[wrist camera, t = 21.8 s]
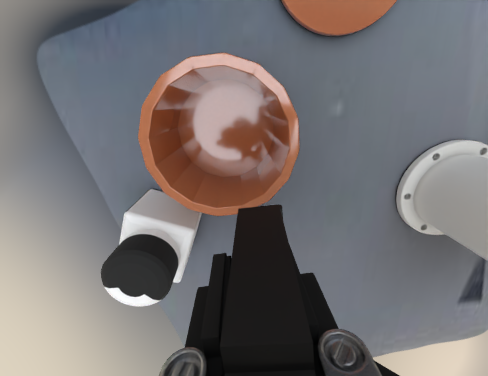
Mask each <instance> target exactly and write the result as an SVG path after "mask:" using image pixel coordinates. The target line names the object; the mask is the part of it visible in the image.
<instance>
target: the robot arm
mask: <svg viewBox="0 0 488 376" xmlns="http://www.w3.org/2000/svg"><path fill="white" fill-rule="evenodd" d="M396 202H397V208H398V212H399V214H400V216H401V217H402V219H403V220H404V221H405V222H406V223H407V224H408V225H409V226H411V227H412V228H414V229H415V230H417V231H419V232H421V233H425V234H429V235H443V234H446V235H447V236H449V237H450V238H452V239H454V240H455V241H457V242H458V243H460V244H462V245H463V246H465V247H466V248H468V249H469V250H471V251H473V252H474V253H476V254H477V255H479V256H481V257H482V258H484V259H485V260H487V261H488V145H486V144H484V143H481V142H476V141H471V140H453V141H448V142H445V143H441V144H439V145H437V146H435V147H433V148H431V149H429V150H427V151H426V152H425V153H423V154H422V155H420V156H419V157H418V158H417V159H416V160H415V161H414V162H413V163H412V164H411V165H410V166H409V168H408V169H407V170H406V172H405V173H404V175H403V177H402V179H401V181H400V184H399V186H398V190H397V196H396ZM289 247H290V245H289ZM290 251H291V255H292V259H293V263H294V267H295V272H296V276H297V280H298V284H299V288H300V292H301V296H302V300H303V304H304V308H305V312H306V316H307V320H308V324H309V328H310V333H311V337H312V341H313V353H314V370H315V375H316V376H399V375H397V374H396V373H394V372H392V371H391V370H389V369H387V368H386V367H384V366H382V365H381V364H379V363H377V362H375V361H374V360H373V358H372V356H371V354H370V352H369V350H368V348H367V347H366V345H365V344H364V343H363V341H362V340H361V339H359V338H358V337H357V336H356V335H354V334H353V333H351V332H349V331H346V330H343V329H338V326H337V324H336V322H335V320H334V317H333V315H332V313H331V311H330V309H329V306H328V304H327V302H326V300H325V298H324V295H323V293H322V291H321V289H320V286H319V284H318V282H317V280H316V278H315V275H314V274H313V273H305V274H300V272H299V269H298V267H297V264H296V261H295V259H294V256H293V253H292V250H291V248H290ZM231 260H232V258H231V256H227V255H226V253H223V254H215V255H214V256H213V262H212V268H211V274H210V281H209V286H205V287H199V288H198V290H197V294H196V298H195V303H194V307H193V312H192V317H191V321H190V326H189V330H188V335H187V340H186V344H185V348H183V349H180V350H178V351H177V352H175V353H173V354H172V355H171V356H170V357H169V358H168V359H167V361H166V362H165V363H164V365H163V367H162V369H161V371H160V374H159V376H225V372H224V366H223V361H222V356H221V351H220V342H221V334H222V327H223V319H224V312H225V304H226V297H227V290H228V282H229V275H230V267H231Z"/></svg>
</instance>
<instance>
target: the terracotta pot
mask: <svg viewBox="0 0 488 376" xmlns="http://www.w3.org/2000/svg"><path fill="white" fill-rule="evenodd" d="M138 139H139V143H140V147H141V150H142V154H143V158H144V161H145V165H146V168H147V170H148V171H149V172H150V174H151V175H152V177H153V178H154V179H155V181H156V182H157V183H158V185H159V186H160V187H161V189H162V190H163V192H164V193H165V194H167V195H168V196H170V197H171V198H173V199H174V200H176V201H177V202H179V203H180V204H182V205H183V206H185V207H186V208H188V209H190V210H193V211H197V212H202V213H206V214H210V215H214V216H224V215H233V214H238V208H249V207H257V206H259V205H261V204H263V203H265V202H267V201H269V200H270V199H271V198H272V197H273V196H274V195H275V194H276V193H277V192H278V190H279V189H280V188H281V187H282V186H283V185H284V184H285V183H286V182H287V180H288V179H289V178H290V175H291V172H292V169H293V167H294V164H295V161H296V158H297V156H298V153H299V119H298V116H297V114H296V112H295V109H294V107H293V105H292V103H291V101H290V98H289V96H288V94H287V92H286V90H285V88H284V86H283V85H282V84H280V83H279V82H278V81H277V80H276V79H275V78H274V77H273V76H272V75H271V74H269V73H268V72H267V71H266V70H265V69H264V68H263V67H262V66H261V65H260V64H258V63H256V62H253V61H249V60H246V59H243V58H240V57H237V56H234V55H231V54H228V53H224V52H223V53H215V54H207V55H200V56H192V57H188V58H186V59H185V60H183V61H182V62H180V63H179V64H177V65H176V66H174V67H173V68H171V69H170V70H168V71H167V72H165V73H164V74H162V75H161V76H160V77H159V79H158V80H157V82H156V83H155V85H154V87H153V88H152V90H151V92H150V93H149V95H148V97H147V98H146V100H145V102H144V103H143V105H142V111H141V118H140V126H139V134H138Z"/></svg>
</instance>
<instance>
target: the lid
mask: <svg viewBox="0 0 488 376" xmlns="http://www.w3.org/2000/svg"><path fill="white" fill-rule="evenodd" d="M281 1H282V3H283V5H284V6H285V8H286V9H287V11H288V12H289V13H290V15H291V16H292V17H293V18H294V19H295V20H296V21H297V22H298V23H299V24H301V25H302V26H303V27H305V28H307V29H308V30H310V31H313V32H315V33H318V34H321V35H326V36H343V35H348V34H352V33H355V32H358V31H360V30H362V29H364V28H366V27H368V26H369V25H371V24H372V23H374V22H375V21H377V20H378V19H379V18H381V17H382V16H383V15H384V14H385V13H386V12H387V11H388V10H389V9H390V8H391V7H392V6H393V5H394V4H395V2H396V1H397V0H281Z"/></svg>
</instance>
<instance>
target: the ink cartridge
mask: <svg viewBox="0 0 488 376" xmlns="http://www.w3.org/2000/svg"><path fill="white" fill-rule="evenodd" d="M220 351H221V356H222V361H223V366H224V372H225V376H316V375H315V370H314V353H313V341H312V337H311V333H310V328H309V324H308V320H307V316H306V312H305V308H304V304H303V300H302V296H301V292H300V288H299V284H298V280H297V276H296V272H295V267H294V263H293V259H292V255H291V251H290V247H289V243H288V239H287V235H286V231H285V227H284V223H283V213H282V205H269V206H259V207H249V208H238V216H237V223H236V230H235V238H234V245H233V253H232V260H231V267H230V275H229V282H228V290H227V297H226V304H225V312H224V319H223V327H222V334H221V342H220Z"/></svg>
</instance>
